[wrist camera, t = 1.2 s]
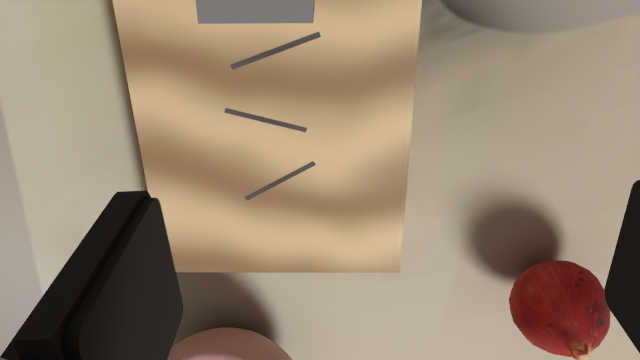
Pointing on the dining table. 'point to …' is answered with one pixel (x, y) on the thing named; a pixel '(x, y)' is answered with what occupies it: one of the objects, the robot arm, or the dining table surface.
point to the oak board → (275, 133)
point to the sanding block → (254, 11)
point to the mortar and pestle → (227, 346)
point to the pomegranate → (560, 308)
